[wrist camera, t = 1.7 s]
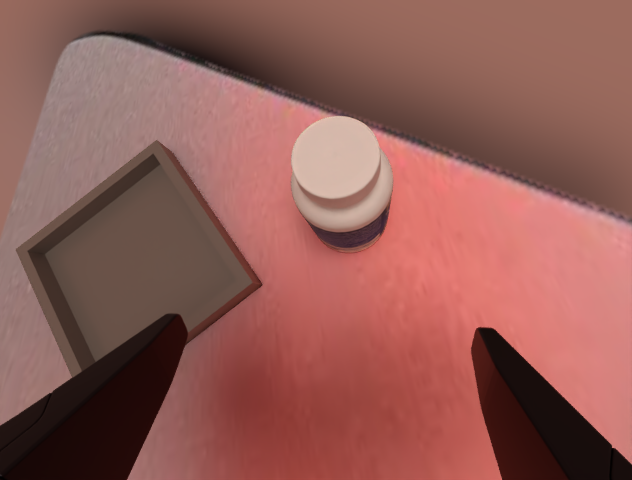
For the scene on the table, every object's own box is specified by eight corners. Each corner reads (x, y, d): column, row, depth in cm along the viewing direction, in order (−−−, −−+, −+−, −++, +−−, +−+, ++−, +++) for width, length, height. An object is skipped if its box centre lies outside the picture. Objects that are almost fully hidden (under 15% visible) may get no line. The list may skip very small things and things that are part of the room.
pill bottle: (400, 235, 23) (420, 181, 13) (330, 266, 23) (301, 234, 14) (368, 170, 24) (365, 81, 15) (302, 200, 25) (259, 132, 15)
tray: (110, 402, 24) (87, 410, 22) (40, 253, 27) (15, 249, 26) (262, 284, 24) (252, 282, 22) (171, 152, 27) (156, 139, 25)
